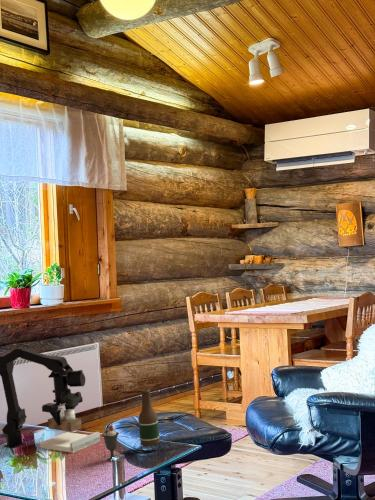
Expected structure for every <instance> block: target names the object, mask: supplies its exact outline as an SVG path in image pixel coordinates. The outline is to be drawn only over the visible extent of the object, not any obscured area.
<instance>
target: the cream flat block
mask: <svg viewBox="0 0 375 500" xmlns="http://www.w3.org/2000/svg"><path fill="white" fill-rule="evenodd" d="M100 436H101V435H100V432H99V431H95V432H92V433H91V434H84V433H83V434H82V433H76V432H68V431H65V432H63V433H60V434H58V435H56V436H53V437H51V438H48V439H46V440H43V441H40V442H39V448H42V449H48V450H53V451H58V452H59V451H60V452H66V453H70V454H71V453H72V454H74V453H76V452H79V451H81V450H83V449H85V448H88V447H90V446H92V445H95V444H97V443H99V442H101V437H100Z"/></svg>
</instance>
